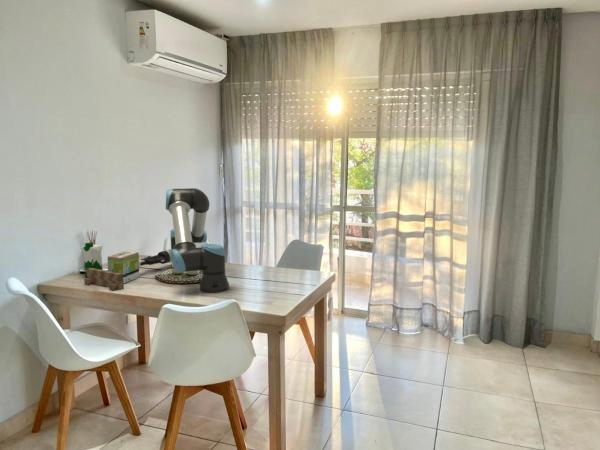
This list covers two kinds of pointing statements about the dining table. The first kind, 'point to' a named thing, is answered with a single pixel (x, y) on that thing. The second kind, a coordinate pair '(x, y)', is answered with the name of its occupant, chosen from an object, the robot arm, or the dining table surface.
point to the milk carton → (92, 256)
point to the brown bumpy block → (104, 279)
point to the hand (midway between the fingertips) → (135, 264)
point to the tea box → (125, 265)
